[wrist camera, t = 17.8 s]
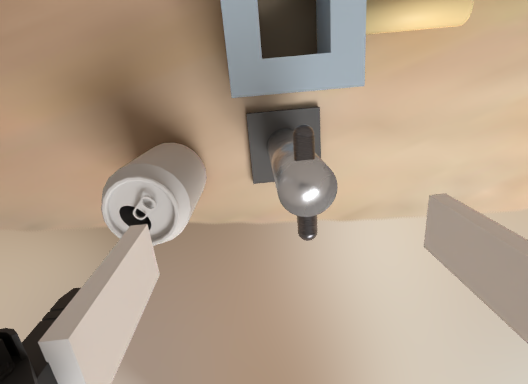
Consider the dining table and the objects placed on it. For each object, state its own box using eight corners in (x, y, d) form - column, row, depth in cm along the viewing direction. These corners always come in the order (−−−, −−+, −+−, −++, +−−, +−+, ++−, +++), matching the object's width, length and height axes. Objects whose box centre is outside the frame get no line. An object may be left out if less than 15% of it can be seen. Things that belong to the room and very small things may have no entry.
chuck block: (235, 95, 33) (231, 98, 28) (220, -36, 29) (212, -65, 23) (437, 77, 33) (474, 76, 28) (450, -57, 29) (497, -91, 24)
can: (130, 175, 36) (73, 217, 25) (168, 127, 34) (126, 148, 23) (181, 214, 38) (151, 270, 26) (220, 170, 36) (205, 209, 25)
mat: (253, 182, 37) (253, 183, 36) (246, 113, 34) (246, 114, 33) (320, 176, 37) (321, 177, 36) (318, 107, 34) (319, 107, 33)
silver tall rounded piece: (270, 183, 36) (281, 247, 22) (264, 110, 33) (273, 128, 19) (304, 180, 36) (337, 242, 22) (300, 106, 33) (336, 123, 19)
